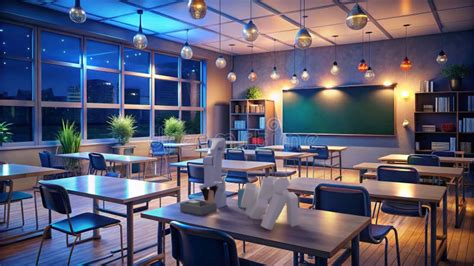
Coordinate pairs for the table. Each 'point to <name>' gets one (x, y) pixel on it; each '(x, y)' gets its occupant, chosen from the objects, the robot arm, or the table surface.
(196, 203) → the sage cube
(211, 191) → the terracotta cylinder
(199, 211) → the tote
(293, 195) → the pile of blocks
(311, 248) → the table surface
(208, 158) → the robot arm
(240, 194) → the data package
